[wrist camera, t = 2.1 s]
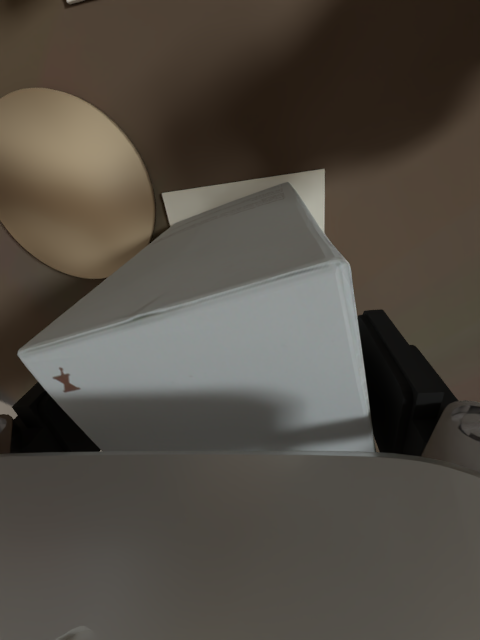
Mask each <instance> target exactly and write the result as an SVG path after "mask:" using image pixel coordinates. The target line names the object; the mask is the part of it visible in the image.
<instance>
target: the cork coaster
mask: <svg viewBox="0 0 480 640" xmlns="http://www.w3.org/2000/svg"><path fill="white" fill-rule="evenodd" d="M0 221H1V222H2V223H3V225H4V226H5V228H6V229H7V230H8V232H9V233H10V234H11V235H12V236H13V237H14V238H15V240H16V241H17V242H18V243H19V244H20V245H21V246H22V247H24V248H25V249H26V250H27V251H28V252H29V253H31V254H32V255H33V256H34V257H36V258H37V259H39V260H40V261H42V262H43V263H45V264H46V265H48V266H50V267H52V268H54V269H56V270H58V271H60V272H63V273H65V274H68V275H72V276H76V277H80V278H88V279H101V278H107V277H109V276H110V275H111V274H113V273H114V272H115V271H117V270H118V269H119V268H120V267H121V266H123V265H124V264H125V263H126V262H128V261H129V260H130V259H131V258H133V257H134V256H135V255H136V254H138V253H139V252H140V251H141V250H142V249H144V248H145V247H146V246H147V245H149V243H150V241H151V239H152V235H153V232H154V227H155V221H156V205H155V196H154V191H153V187H152V183H151V180H150V177H149V174H148V171H147V169H146V167H145V165H144V162H143V160H142V158H141V157H140V155H139V153H138V151H137V150H136V148H135V146H134V145H133V144H132V142H131V141H130V139H129V138H128V137H127V135H126V134H125V133H124V132H123V131H122V130H121V129H120V127H119V126H118V125H117V124H116V123H115V122H114V121H113V120H111V119H110V118H109V117H108V116H107V115H106V114H105V113H103V112H102V111H100V110H99V109H98V108H96V107H95V106H93V105H92V104H90V103H88V102H86V101H84V100H83V99H81V98H78V97H76V96H73V95H70V94H68V93H64V92H61V91H56V90H52V89H47V88H26V89H20V90H17V91H14V92H11V93H9V94H8V95H6V96H4V97H3V98H1V99H0Z"/></svg>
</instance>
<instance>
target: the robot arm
mask: <svg viewBox="0 0 480 640" xmlns="http://www.w3.org/2000/svg"><path fill="white" fill-rule="evenodd" d="M357 319H358V326H359V333H360V340H361V347H362V355H363V362H364V369H365V377H366V384H367V391H368V399H369V406H370V414H371V421H372V428H373V435H374V437H375V440H376V443H377V445H378V448H379V451H380V453H378V452H358V451H112V452H99V451H100V450H101V449H100V448H99V447H98V446H97V445H96V444H95V443H94V442H93V441H92V440H91V439H90V438H89V437H88V436H87V435H86V434H85V432H84V431H83V430H82V429H81V428H80V427H79V426H78V425H77V424H76V423H75V422H74V421H73V420H72V419H71V418H70V417H69V416H68V414H67V413H66V412H65V411H64V410H63V409H62V408H61V407H60V406H59V405H58V404H57V402H56V401H55V400H54V399H53V398H52V397H51V396H50V395H49V394H48V392H47V391H46V390H45V389H44V388H43V387H42V386H41V384H40V383H39V382H37V383H36V384H35V385H34V386H33V387H32V388H31V389H30V390H29V391H28V392H27V393H26V394H25V395H24V396H23V397H22V398H21V399H20V400H19V401H18V402H17V403H16V404H15V405H14V406H13V407H12V408H13V409H14V411H15V412H16V413H17V415H18V416H17V417H16V418H15V419H13V418H12V417H11V416H9V415H5V414H2V415H0V640H480V403H479V402H474V401H458V400H457V399H456V397H455V396H454V395H453V393H452V392H451V391H450V390H449V388H448V387H447V386H446V384H445V383H444V382H443V381H442V379H441V378H440V377H439V375H438V374H437V373H436V372H435V370H434V369H433V368H432V366H431V365H430V364H429V363H428V361H427V360H426V359H425V357H424V356H423V355H422V354H421V352H420V351H419V350H418V348H417V347H415V346H414V345H409V344H408V343H407V342H406V340H405V339H404V337H403V336H402V335H401V333H400V332H399V331H398V329H397V328H396V327H395V325H394V324H393V323H392V321H391V320H390V319H389V317H388V316H387V315H386V313H385V312H384V311H383V310H369V311H364V313H363V315H359V316H358V318H357Z"/></svg>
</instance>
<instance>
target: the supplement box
mask: <svg viewBox="0 0 480 640" xmlns="http://www.w3.org/2000/svg"><path fill="white" fill-rule="evenodd" d="M17 355H18V357H19V358H20V359H21V361H22V362H23V363H24V365H25V366H26V367H27V369H28V370H29V371H30V372H31V373H32V375H33V376H34V377H35V378H36V379H37V381H38V382H39V383H40V384H41V386H42V387H43V388H44V389H45V390H46V391H47V392H48V394H49V395H50V396H51V397H52V398H53V399H54V400H55V401H56V402H57V404H58V405H59V406H60V407H61V408H62V409H63V410H64V411H65V412H66V413H67V414H68V416H69V417H70V418H71V419H72V420H73V421H74V422H75V423H76V424H77V425H78V426H79V427H80V428H81V429H82V430H83V431H84V432H85V434H86V435H87V436H88V437H89V438H90V439H91V440H92V441H93V442H94V443H95V444H96V445H97V446H98V447H99V448H100V449H101V450H102V451H103V452H112V451H358V452H376V449H375V443H374V436H373V428H372V421H371V414H370V406H369V399H368V391H367V384H366V377H365V369H364V362H363V355H362V347H361V340H360V333H359V326H358V319H357V312H356V305H355V298H354V291H353V284H352V276H351V268H350V265H349V263H348V261H347V260H346V259H345V258H344V257H343V256H342V255H341V254H340V252H339V251H338V250H337V249H336V248H335V247H334V246H333V244H332V243H331V242H330V241H329V239H328V238H327V237H326V235H325V234H324V232H323V231H322V229H321V228H320V227H319V225H318V224H317V222H316V220H315V219H314V217H313V216H312V214H311V213H310V211H309V210H308V208H307V206H306V205H305V204H304V202H303V201H302V199H301V197H300V196H299V194H298V193H297V192H296V190H295V189H294V188H293V187H292V185H291V184H290V183H289V182H285V183H282V184H279V185H276V186H273V187H270V188H267V189H264V190H262V191H259V192H256V193H253V194H251V195H248V196H245V197H242V198H240V199H237V200H234V201H232V202H229V203H226V204H224V205H221V206H218V207H216V208H213V209H211V210H208V211H205V212H203V213H200V214H198V215H195V216H192V217H190V218H187V219H184V220H182V221H179V222H177V223H174V224H173V225H172V226H171V227H170V228H169V229H167V230H166V231H165V232H163V233H162V234H161V235H160V236H159V237H157V238H156V239H155V240H154V241H153V242H151V243H150V244H149V245H147V246H146V247H145V248H144V249H142V250H141V251H140V252H139V253H138V254H136V255H135V256H134V257H133V258H131V259H130V260H129V261H128V262H126V263H125V264H124V265H123V266H121V267H120V268H119V269H118V270H117V271H115V272H114V273H113V274H111V275H110V276H109V277H108V278H106V279H105V280H104V281H103V282H102V283H100V284H99V285H98V286H97V287H95V288H94V289H93V290H92V291H90V292H89V293H88V294H87V295H85V296H84V297H83V298H82V299H80V300H79V301H78V302H77V303H76V304H74V305H73V306H72V307H71V308H69V309H68V310H67V311H66V312H64V313H63V314H62V315H61V316H59V317H58V318H57V319H56V320H54V321H53V322H52V323H51V324H49V325H48V326H47V327H46V328H45V329H43V330H42V331H41V332H40V333H39V334H37V335H36V336H35V337H34V338H32V339H31V340H30V341H29V342H27V343H26V344H25V345H24V346H22V347H21V348H20V349H19V350H18V354H17Z"/></svg>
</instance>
